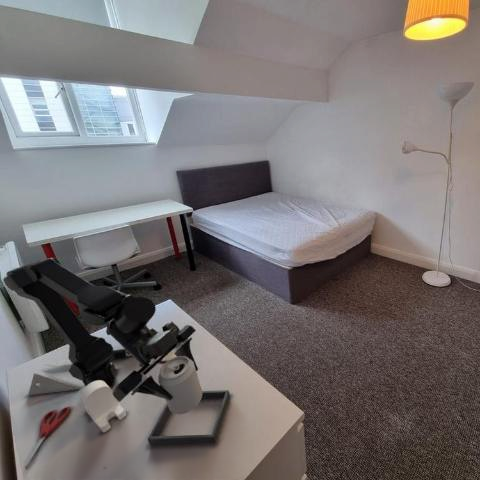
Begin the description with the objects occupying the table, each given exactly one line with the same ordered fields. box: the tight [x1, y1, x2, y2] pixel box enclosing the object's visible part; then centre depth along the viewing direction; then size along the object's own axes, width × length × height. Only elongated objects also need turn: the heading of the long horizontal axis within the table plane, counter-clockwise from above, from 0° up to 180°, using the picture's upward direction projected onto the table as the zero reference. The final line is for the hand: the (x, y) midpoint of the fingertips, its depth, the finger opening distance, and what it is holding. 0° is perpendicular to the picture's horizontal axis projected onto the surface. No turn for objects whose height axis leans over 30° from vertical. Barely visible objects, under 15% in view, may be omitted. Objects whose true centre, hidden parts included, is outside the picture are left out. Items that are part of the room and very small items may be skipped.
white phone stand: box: [79, 380, 127, 433], centre depth 68 cm, size 5×10×10 cm, turn 58°
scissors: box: [23, 406, 72, 469], centre depth 65 cm, size 5×14×1 cm, turn 17°
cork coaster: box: [160, 349, 177, 363], centre depth 88 cm, size 8×8×1 cm
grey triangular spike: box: [28, 372, 81, 396], centre depth 79 cm, size 6×5×13 cm
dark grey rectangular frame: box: [147, 389, 231, 447], centre depth 67 cm, size 15×12×2 cm
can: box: [157, 356, 203, 415], centre depth 63 cm, size 8×8×12 cm
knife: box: [44, 348, 133, 368], centre depth 86 cm, size 26×2×5 cm
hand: (184, 384), depth 62 cm, fingers closed on can, 7 cm apart
